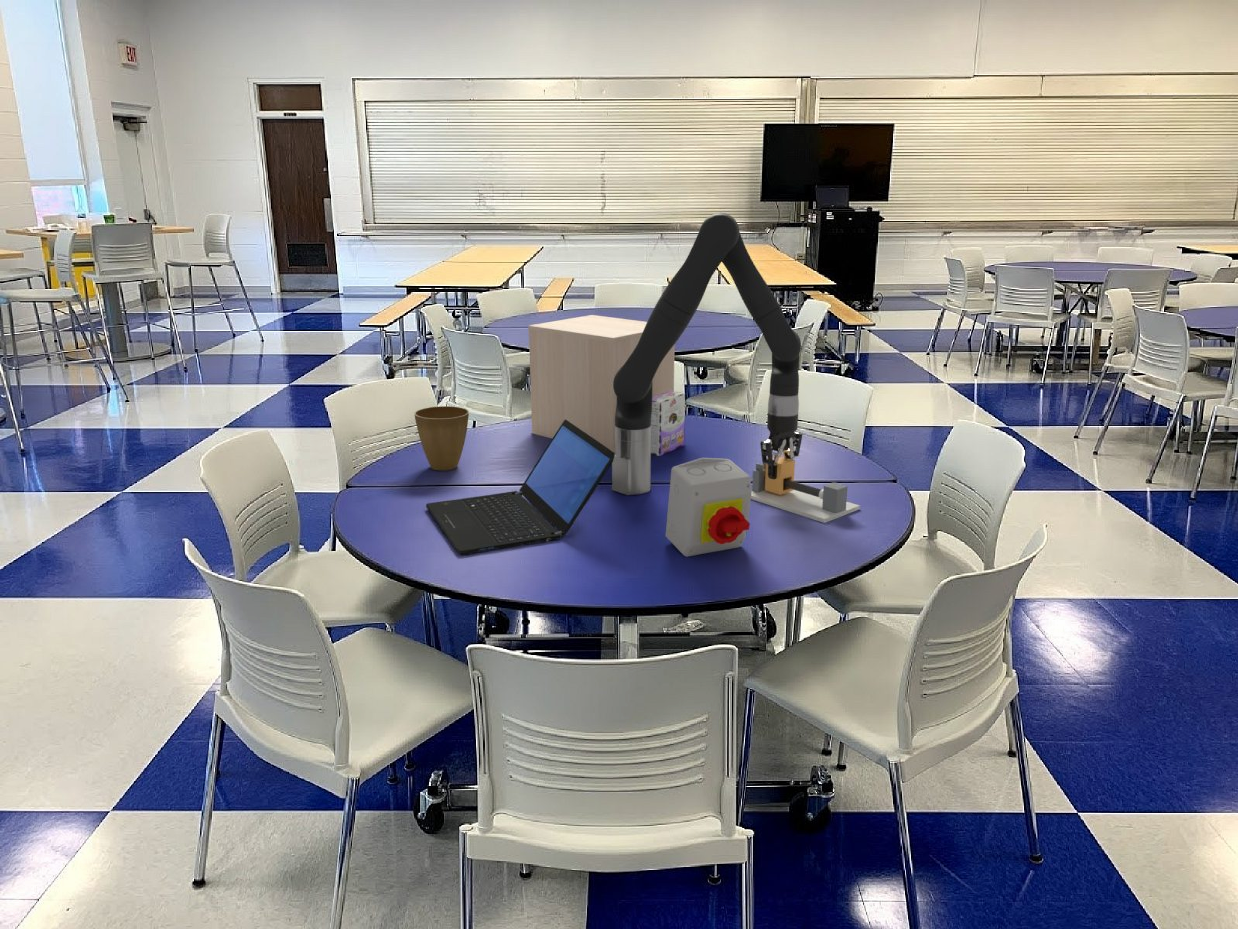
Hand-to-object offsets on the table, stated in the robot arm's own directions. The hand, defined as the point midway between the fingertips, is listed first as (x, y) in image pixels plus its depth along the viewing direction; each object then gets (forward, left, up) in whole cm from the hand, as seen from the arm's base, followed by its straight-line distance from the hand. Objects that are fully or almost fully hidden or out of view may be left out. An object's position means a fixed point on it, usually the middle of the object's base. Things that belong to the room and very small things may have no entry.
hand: (779, 475), depth 239 cm
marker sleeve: (0, 0, -4) cm, 4 cm away
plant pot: (-50, +79, -6) cm, 94 cm away
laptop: (-59, +31, -6) cm, 67 cm away
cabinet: (+6, +76, -6) cm, 76 cm away
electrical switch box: (-39, -13, -6) cm, 42 cm away
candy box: (+8, +50, -6) cm, 51 cm away
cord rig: (0, -7, -5) cm, 9 cm away
